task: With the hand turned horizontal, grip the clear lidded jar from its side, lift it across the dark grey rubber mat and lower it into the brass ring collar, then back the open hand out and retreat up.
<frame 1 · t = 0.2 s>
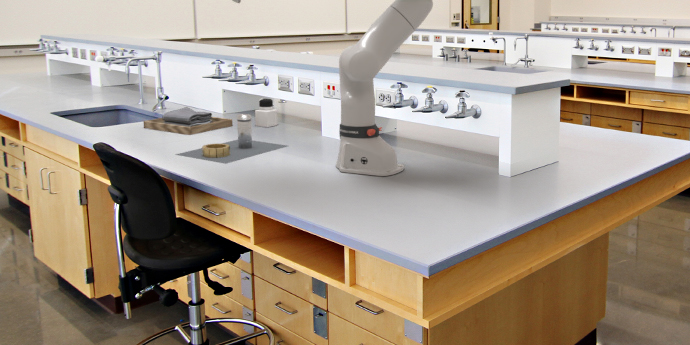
hand: (235, 2, 185), 52 cm above the counter, tool tilted 20°, fingers open, 8 cm apart
brass ring collar: (216, 154, 216), resting on bench mat
bench mat: (234, 151, 224), on the counter
towel frame: (188, 126, 272), on the counter
towel: (188, 128, 272), resting on towel frame
clear lidded jar: (245, 147, 228), point 1 cm above the counter, touching bench mat
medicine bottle: (266, 126, 276), on the counter
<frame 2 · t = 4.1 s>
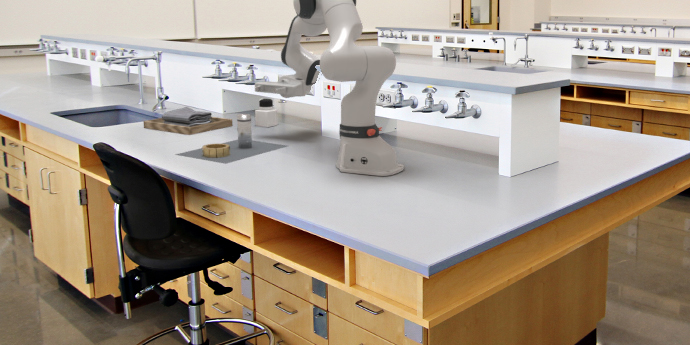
hand: (265, 90, 234), 20 cm above the counter, tool horizontal, fingers open, 8 cm apart
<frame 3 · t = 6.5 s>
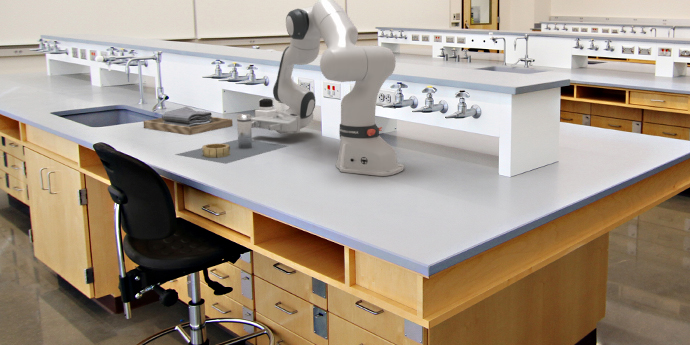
hand: (259, 126, 233), 7 cm above the counter, tool horizontal, fingers open, 8 cm apart
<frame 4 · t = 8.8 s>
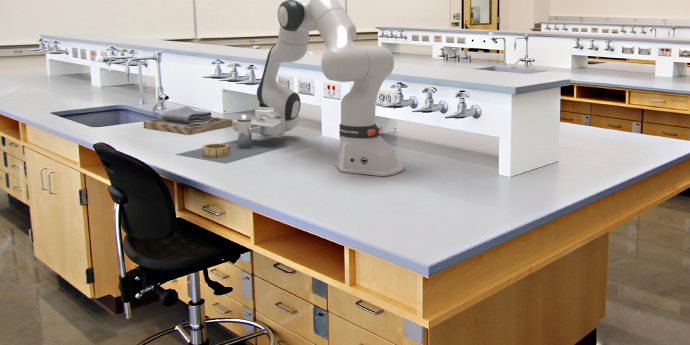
hand: (243, 129, 226), 7 cm above the counter, tool horizontal, fingers closed on clear lidded jar, 5 cm apart
clear lidded jar: (245, 147, 228), point 1 cm above the counter, touching bench mat, gripper
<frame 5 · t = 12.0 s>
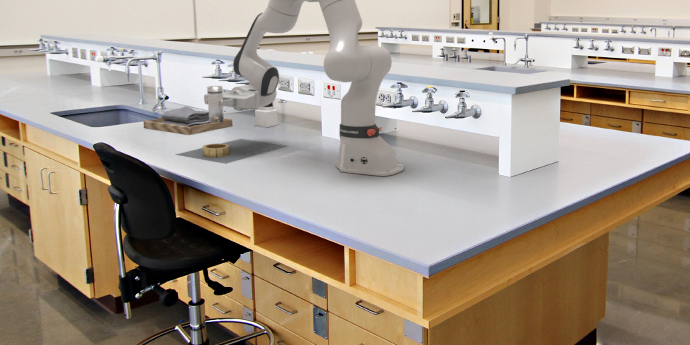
hand: (213, 102, 212), 19 cm above the counter, tool horizontal, fingers closed on clear lidded jar, 5 cm apart
clear lidded jar: (216, 121, 214), point 12 cm above the counter, touching gripper
when the fingers open (9 cm above the counter, at t = 15.1 s): clear lidded jar drops 1 cm, resting on bench mat.
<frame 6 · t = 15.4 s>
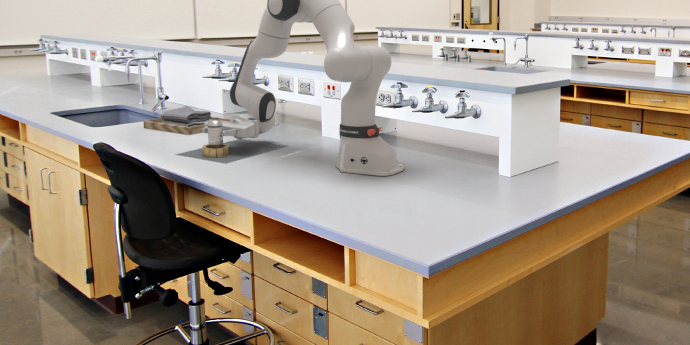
hand: (213, 132, 213), 9 cm above the counter, tool horizontal, fingers open, 8 cm apart
clear lidded jar: (216, 154, 216), point 1 cm above the counter, touching bench mat
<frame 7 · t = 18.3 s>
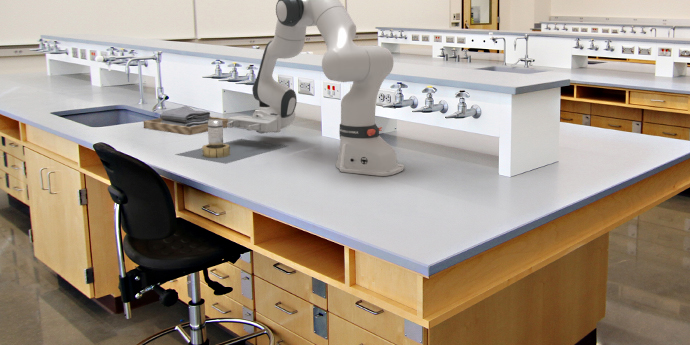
hand: (238, 126, 224), 9 cm above the counter, tool horizontal, fingers open, 8 cm apart
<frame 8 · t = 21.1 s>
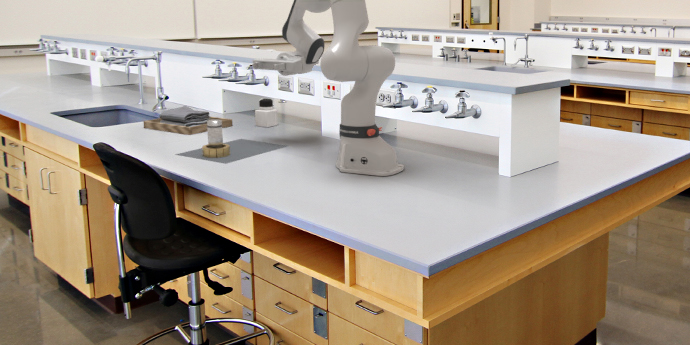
hand: (263, 66, 225), 30 cm above the counter, tool horizontal, fingers open, 8 cm apart
at the end: clear lidded jar 0.0 cm off-centre on the brass ring collar, point 0.0 cm above the brass ring collar's base; clear lidded jar tilted 1°; the gripper is holding nothing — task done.
